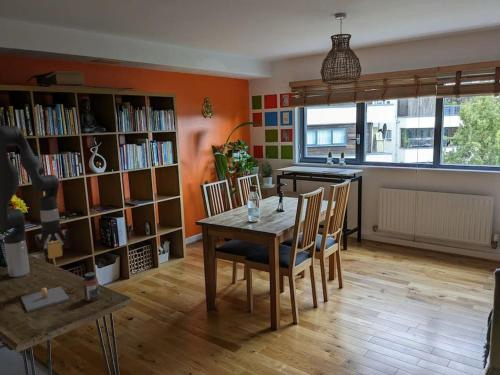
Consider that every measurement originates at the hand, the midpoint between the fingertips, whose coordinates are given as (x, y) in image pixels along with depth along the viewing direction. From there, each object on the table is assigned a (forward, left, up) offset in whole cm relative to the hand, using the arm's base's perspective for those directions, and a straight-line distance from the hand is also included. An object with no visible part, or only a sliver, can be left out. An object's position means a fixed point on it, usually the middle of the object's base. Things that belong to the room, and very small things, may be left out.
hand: (54, 254), depth 181 cm
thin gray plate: (+13, -8, -15) cm, 21 cm away
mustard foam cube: (0, 0, -1) cm, 1 cm away
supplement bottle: (+26, +8, -16) cm, 31 cm away
